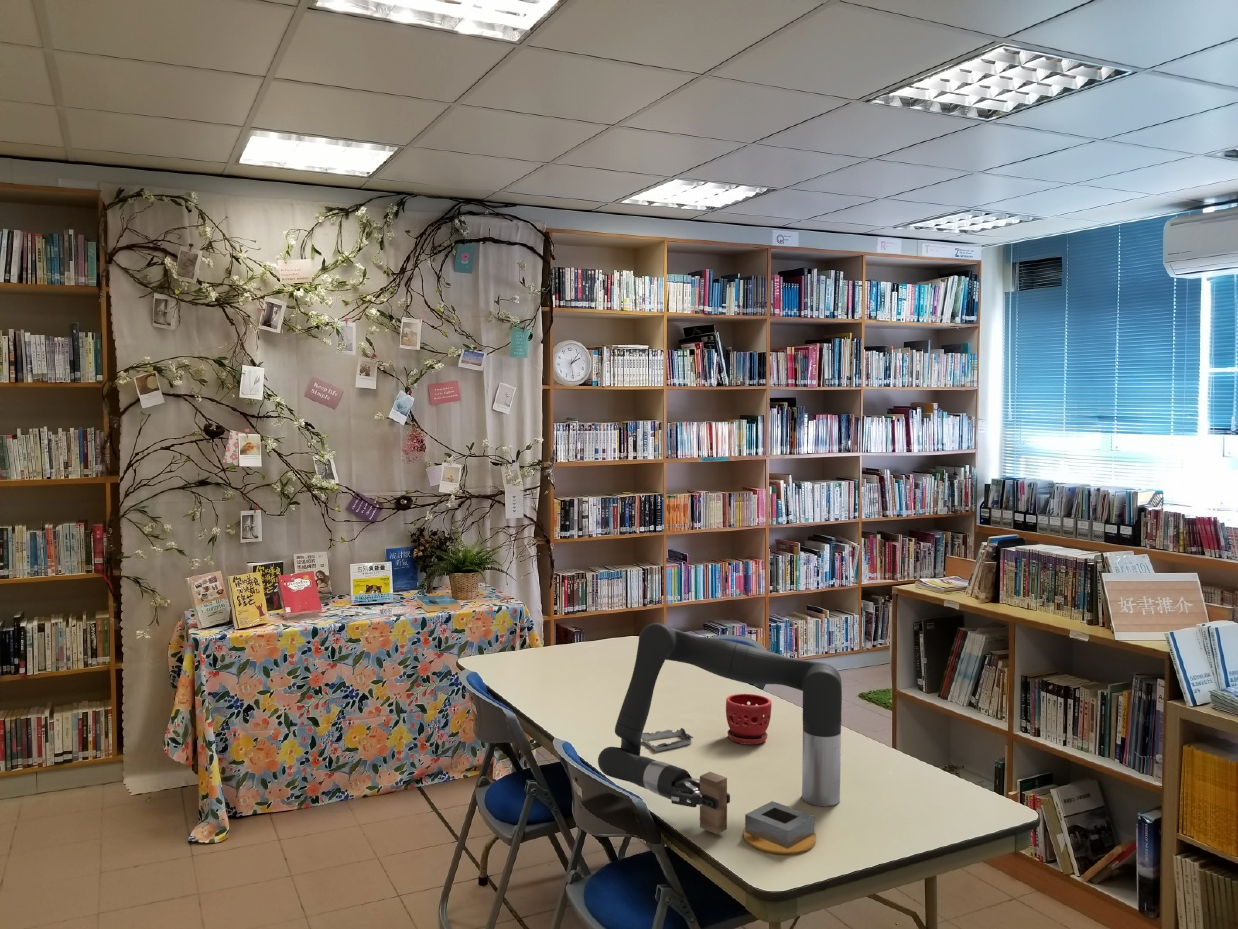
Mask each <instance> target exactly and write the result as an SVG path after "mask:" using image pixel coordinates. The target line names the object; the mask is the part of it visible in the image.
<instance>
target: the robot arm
mask: <svg viewBox="0 0 1238 929" xmlns="http://www.w3.org/2000/svg"><path fill="white" fill-rule="evenodd" d="M638 636H639V637H638V644H637V651H636V656H635V657H636V658H635V663H634V667H633V670H632V671H633V672H632V674H631V677H630V678H631V679H630V682H629V686H628V688H627V691H626V694H625V696H624V699H623V702H622V705H621V708H620V711H619V713H618V717H617V720H616V723H615V725H614V733H615V735H616V736H617V737H618V738H621V739H620V741H621V743H620V747H618V746H607V747H605V748H603V749H602V750H601V751H600V753H599V754H598V757H597V764H598V765H597V766H598V767H599V770H600V771H601V773H603V775H605V776H607V777H610V778H614V779H618V780H621V781H624V782H629V783H632V784H634V785H636V786H637V787H641V788H643V789H645V790H649V791H650V792H652V793H653V794H655V795H658V796H660V797H662V798H665V799H668V800H670V801H671V804H674V805H679V806H682V807H683V806H684V807H688V808H697V806H699V807H700V806H703V805H705V806H708V807H710V808H713V809H717V808H718V799H715V798H713V797H710V796H708V795H704V794H703V793H701V792H700V778H699V779H698V778H693V776H692V775H691V774H690V773H689V771H688V770H686V769H685V768H681V767H680V766H679V767H678V766H677V765H673V764H670V763H668V762H665V761H660V760H655V759H653V758H650V757H648V756H644V755H641V748H642V739H641V736H642V733H644V729H645V727H646V723H647V719H648V716H649V714H650V710H651V704H652V701H653V695H654V690H655V686H656V683H657V679H658V677H659V674H660V672H661V669H662V668H663V665H664V663H665V662H666V661H672V662H676V663H677V662H679V663H683V664H687V665H688V664H689V665H692V666H695V667H698V668H700V669H702V670H704V671H707V672H708V673H711V674H714V675H716V676H719V677H721V678H725V679H729V680H732V681H736V682H739V683H745V684H749V685H780V686H785V687H789V688H792V689H794V690H798V691H802V765H801V766H802V770H801V771H802V772H801V773H802V774H801V775H802V777H801V798H802V800H803V801H805V802H806V803H808V804H809V805H814V806H818V807H819V806H820V807H830V806H831V807H832V806H835V805H838V804H839V803H840V800H841V756H842V753H841V751H842V747H841V746H842V742H841V741H842V740H841V739H842V707H843V706H842V704H843V703H842V701H843V700H842V699H843V696H842V695H843V693H842V692H843V689H842V688H843V684H842V677H841V674H840V673H839V671H838V670H837V669H836V668H835V667H834V666H832V665H831V664H828V663H825V662H820V661H813V660H808V659H801V658H793V657H789V656H785V655H781V654H779V653H776V652H774V651H773V652H771V651H769V650H766V649H762V648H758V647H756V646H755V647H754V646H751V645H747V644H743V643H740V642H736V641H731V640H726V639H725V640H724V639H720V638H710V637H702V636H698V635H695V634H690V633H688V632H685V631H682V630H679V629H677V628H674V627H671V626H669V624H665V623H661V622H660V623H659V622H654V623H650V624H647V625H646V626H644V627H643V629H642V630H641V631H640V633H639V635H638ZM729 803H731V795H730V793H729V792H727V805H728V804H729Z"/></svg>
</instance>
